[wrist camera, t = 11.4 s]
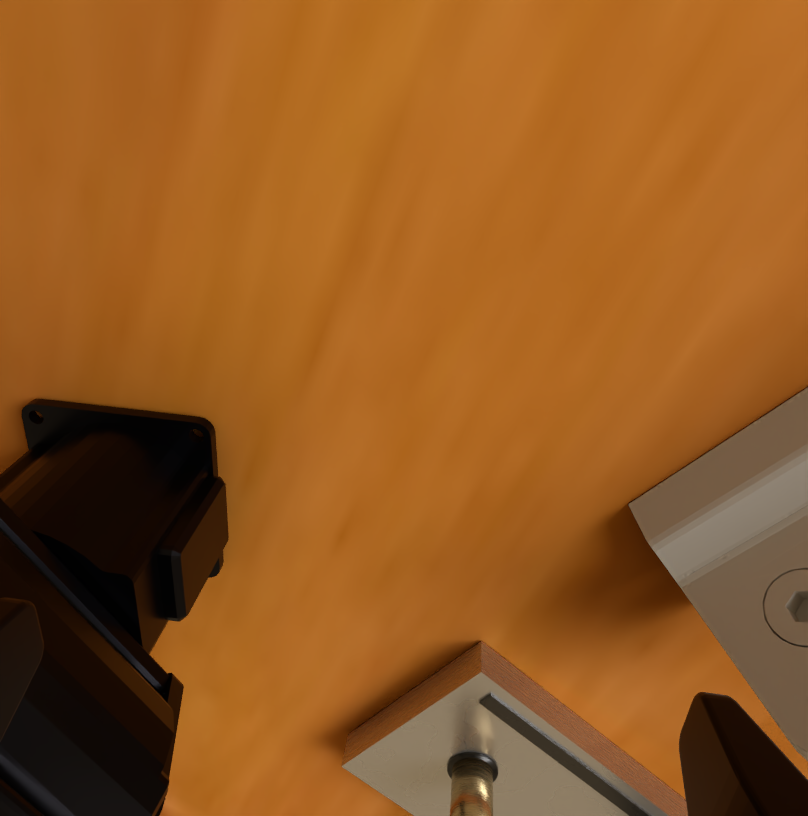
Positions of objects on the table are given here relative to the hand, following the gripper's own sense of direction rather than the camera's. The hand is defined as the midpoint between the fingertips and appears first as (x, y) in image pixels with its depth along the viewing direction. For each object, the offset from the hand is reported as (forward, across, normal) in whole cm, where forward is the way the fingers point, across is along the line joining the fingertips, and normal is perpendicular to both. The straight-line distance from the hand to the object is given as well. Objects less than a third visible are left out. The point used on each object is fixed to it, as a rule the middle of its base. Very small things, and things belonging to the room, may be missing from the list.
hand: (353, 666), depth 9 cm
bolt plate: (+13, -9, +22) cm, 27 cm away
